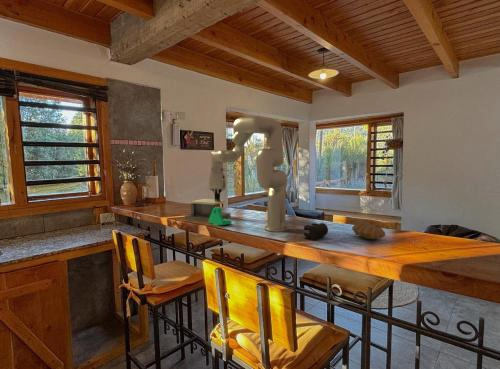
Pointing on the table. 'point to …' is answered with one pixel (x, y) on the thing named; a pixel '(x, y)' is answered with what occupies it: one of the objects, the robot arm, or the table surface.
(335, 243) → the table surface
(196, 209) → the leveling stand
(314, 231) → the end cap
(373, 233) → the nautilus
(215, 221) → the camera mount
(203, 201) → the level plate
